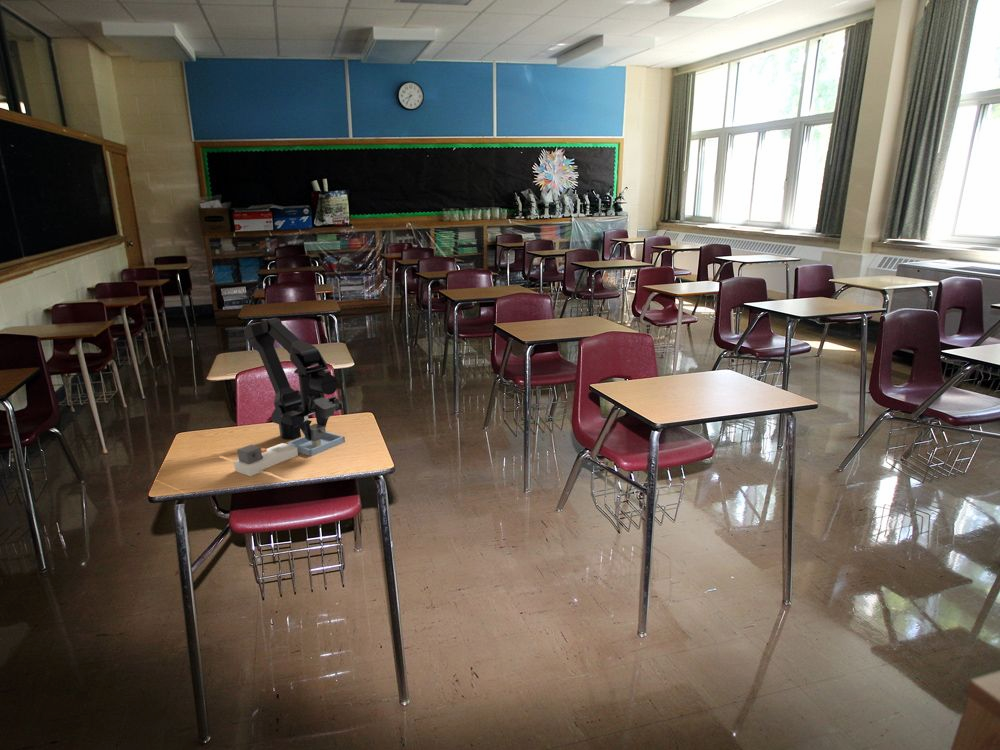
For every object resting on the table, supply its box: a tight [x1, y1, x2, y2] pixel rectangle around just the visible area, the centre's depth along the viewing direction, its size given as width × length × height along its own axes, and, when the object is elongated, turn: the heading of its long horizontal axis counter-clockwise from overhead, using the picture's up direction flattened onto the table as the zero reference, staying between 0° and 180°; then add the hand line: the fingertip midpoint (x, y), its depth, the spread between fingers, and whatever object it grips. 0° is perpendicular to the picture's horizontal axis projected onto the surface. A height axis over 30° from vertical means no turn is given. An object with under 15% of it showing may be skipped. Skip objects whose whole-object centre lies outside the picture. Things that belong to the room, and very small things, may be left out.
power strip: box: [233, 442, 299, 477], centre depth 178 cm, size 9×16×6 cm, turn 145°
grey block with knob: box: [304, 423, 327, 447], centre depth 189 cm, size 6×4×6 cm
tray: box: [286, 431, 346, 457], centre depth 190 cm, size 11×13×2 cm
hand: (315, 437), depth 190 cm, fingers closed on grey block with knob, 4 cm apart
